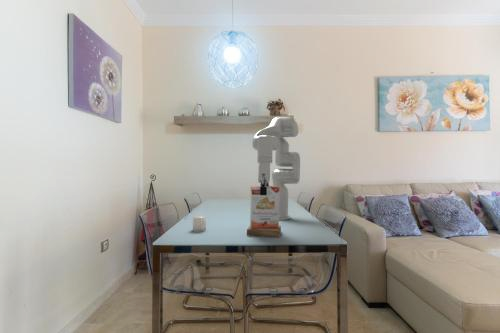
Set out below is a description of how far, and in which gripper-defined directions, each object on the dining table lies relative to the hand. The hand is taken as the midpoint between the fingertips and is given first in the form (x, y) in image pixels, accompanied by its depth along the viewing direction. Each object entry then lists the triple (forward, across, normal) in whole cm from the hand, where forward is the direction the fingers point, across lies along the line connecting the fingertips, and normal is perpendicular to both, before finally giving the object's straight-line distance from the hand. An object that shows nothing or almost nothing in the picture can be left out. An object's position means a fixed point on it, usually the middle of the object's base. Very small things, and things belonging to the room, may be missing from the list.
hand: (264, 193), depth 152 cm
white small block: (+20, -1, -35) cm, 41 cm away
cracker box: (+17, 0, 0) cm, 17 cm away
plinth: (+20, 0, 0) cm, 20 cm away
